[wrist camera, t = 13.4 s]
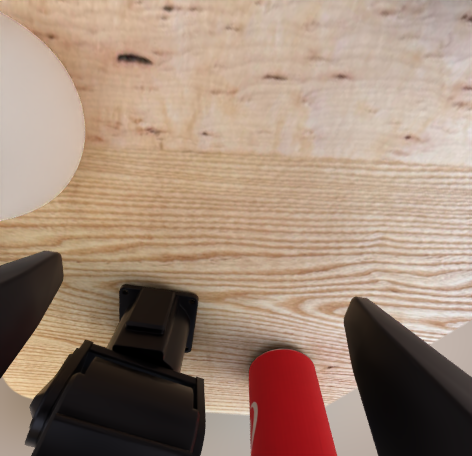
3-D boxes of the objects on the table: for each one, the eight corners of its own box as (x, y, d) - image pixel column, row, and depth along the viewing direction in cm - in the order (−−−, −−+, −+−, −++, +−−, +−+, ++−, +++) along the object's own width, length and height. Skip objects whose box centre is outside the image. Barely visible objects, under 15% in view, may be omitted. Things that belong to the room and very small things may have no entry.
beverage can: (241, 380, 30) (240, 547, 20) (258, 336, 28) (268, 500, 17) (300, 392, 31) (331, 559, 20) (323, 349, 28) (373, 516, 17)
